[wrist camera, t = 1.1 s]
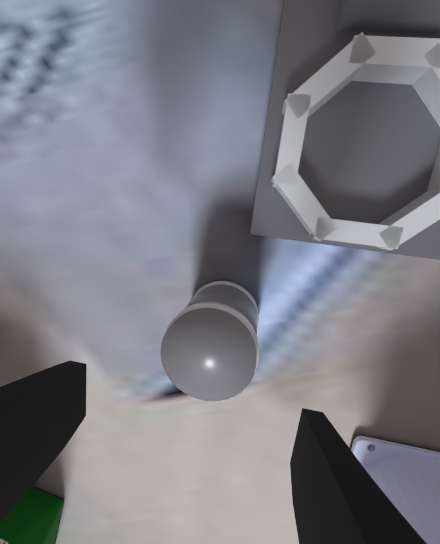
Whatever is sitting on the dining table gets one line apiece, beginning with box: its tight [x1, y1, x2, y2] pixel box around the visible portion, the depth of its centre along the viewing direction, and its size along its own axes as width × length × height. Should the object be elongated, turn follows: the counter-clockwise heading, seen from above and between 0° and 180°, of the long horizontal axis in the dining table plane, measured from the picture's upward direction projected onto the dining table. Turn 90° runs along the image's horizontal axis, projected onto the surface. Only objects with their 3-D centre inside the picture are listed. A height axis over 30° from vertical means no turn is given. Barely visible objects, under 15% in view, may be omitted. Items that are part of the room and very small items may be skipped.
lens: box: [161, 280, 259, 401], centre depth 15 cm, size 5×5×6 cm
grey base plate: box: [250, 0, 440, 260], centre depth 12 cm, size 10×12×4 cm
